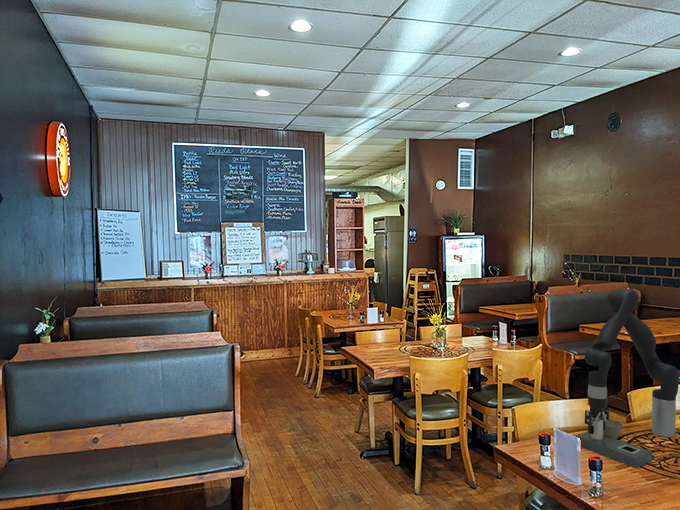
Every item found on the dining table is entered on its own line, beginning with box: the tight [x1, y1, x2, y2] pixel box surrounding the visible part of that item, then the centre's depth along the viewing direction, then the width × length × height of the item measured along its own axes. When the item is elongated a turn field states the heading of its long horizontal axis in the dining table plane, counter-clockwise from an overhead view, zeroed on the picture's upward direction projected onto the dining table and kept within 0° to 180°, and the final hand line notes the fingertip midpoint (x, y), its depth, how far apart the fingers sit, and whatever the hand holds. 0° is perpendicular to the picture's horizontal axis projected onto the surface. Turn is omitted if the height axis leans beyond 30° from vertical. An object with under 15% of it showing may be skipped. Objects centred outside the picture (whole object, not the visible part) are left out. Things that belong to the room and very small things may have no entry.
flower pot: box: [603, 418, 623, 439], centre depth 221 cm, size 10×10×7 cm
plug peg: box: [591, 419, 603, 441], centre depth 212 cm, size 3×4×12 cm
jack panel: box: [575, 431, 653, 469], centre depth 205 cm, size 12×26×4 cm, turn 30°
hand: (596, 431), depth 211 cm, fingers open, 8 cm apart
